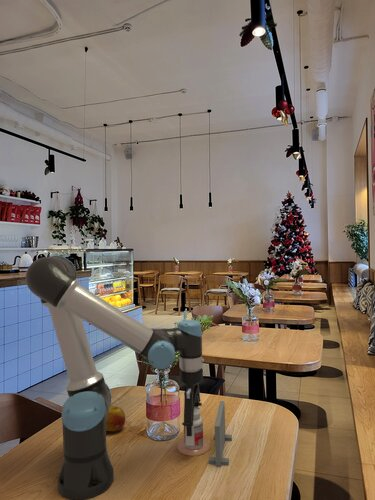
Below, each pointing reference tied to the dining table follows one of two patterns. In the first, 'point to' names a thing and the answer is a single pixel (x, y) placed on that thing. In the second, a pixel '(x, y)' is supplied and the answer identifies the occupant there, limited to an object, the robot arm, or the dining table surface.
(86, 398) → the robot arm
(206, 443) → the coaster
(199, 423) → the pill bottle
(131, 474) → the dining table surface
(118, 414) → the fruit
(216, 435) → the screen
